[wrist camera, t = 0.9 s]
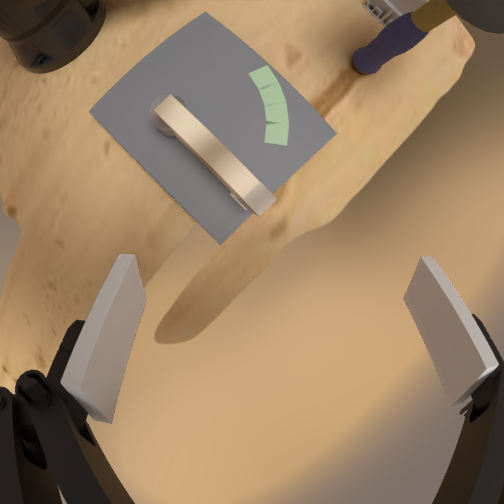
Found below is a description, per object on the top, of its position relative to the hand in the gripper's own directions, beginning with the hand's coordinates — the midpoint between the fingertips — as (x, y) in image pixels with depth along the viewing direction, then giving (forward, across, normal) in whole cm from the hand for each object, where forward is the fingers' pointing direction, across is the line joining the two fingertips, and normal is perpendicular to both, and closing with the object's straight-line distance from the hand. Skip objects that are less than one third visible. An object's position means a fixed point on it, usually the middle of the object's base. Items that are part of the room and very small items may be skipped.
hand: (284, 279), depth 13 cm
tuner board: (+26, -6, +2) cm, 27 cm away
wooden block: (+22, -6, -1) cm, 22 cm away
